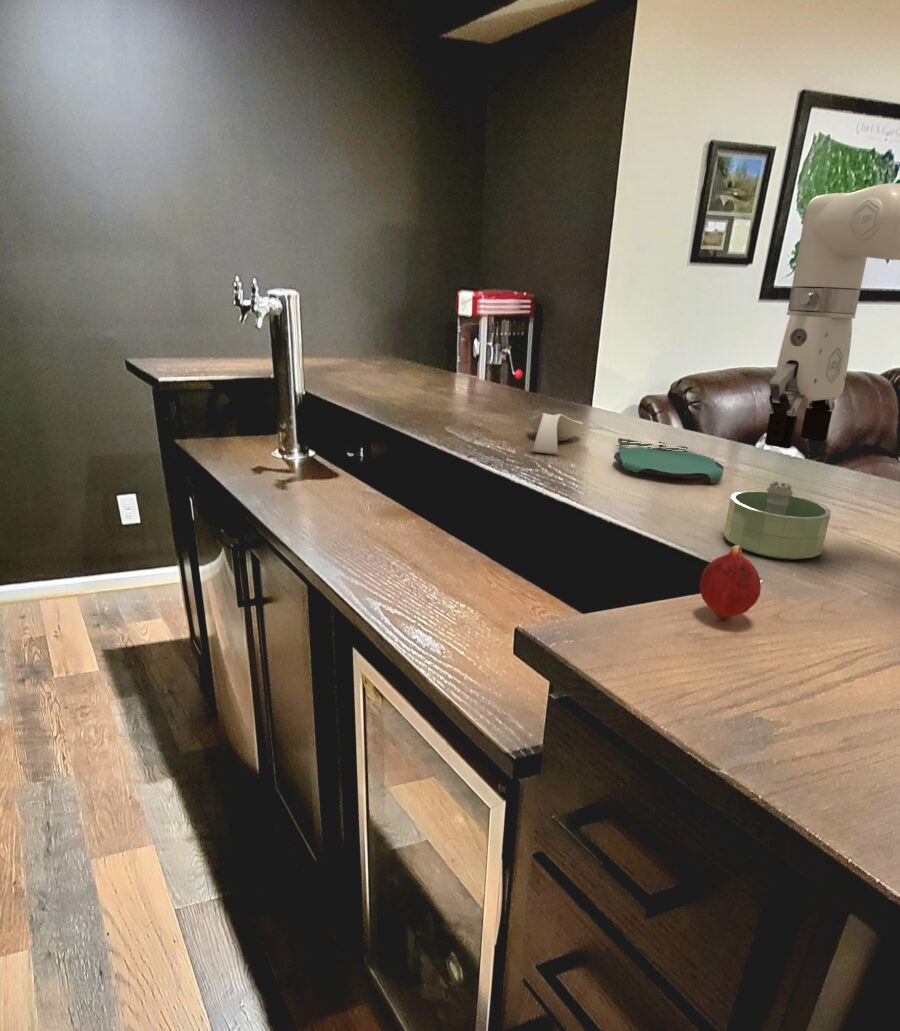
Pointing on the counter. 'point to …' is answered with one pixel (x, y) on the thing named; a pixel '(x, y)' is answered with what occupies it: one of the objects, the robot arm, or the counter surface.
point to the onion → (730, 584)
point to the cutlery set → (667, 461)
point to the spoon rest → (552, 431)
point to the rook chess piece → (778, 498)
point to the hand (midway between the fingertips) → (796, 442)
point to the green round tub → (776, 526)
